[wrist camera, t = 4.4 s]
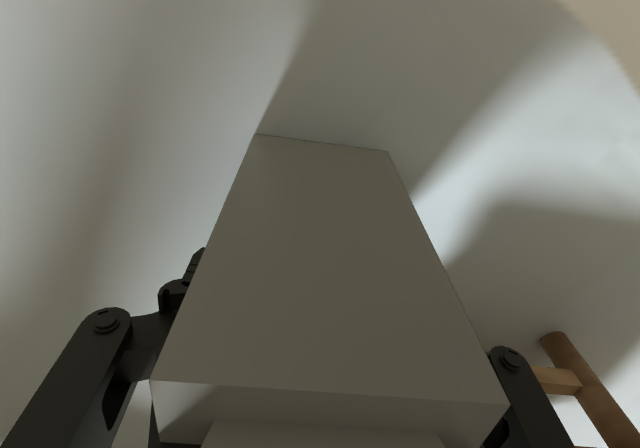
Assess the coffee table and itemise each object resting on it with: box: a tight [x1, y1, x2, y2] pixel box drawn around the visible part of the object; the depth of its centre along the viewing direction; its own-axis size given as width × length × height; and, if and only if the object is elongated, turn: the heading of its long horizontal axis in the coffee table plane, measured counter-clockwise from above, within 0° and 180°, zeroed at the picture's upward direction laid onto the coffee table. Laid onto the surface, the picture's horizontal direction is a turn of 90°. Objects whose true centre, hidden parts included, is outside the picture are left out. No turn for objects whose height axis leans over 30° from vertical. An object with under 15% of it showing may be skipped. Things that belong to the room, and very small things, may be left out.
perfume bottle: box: [149, 134, 511, 448], centre depth 12 cm, size 7×7×18 cm
